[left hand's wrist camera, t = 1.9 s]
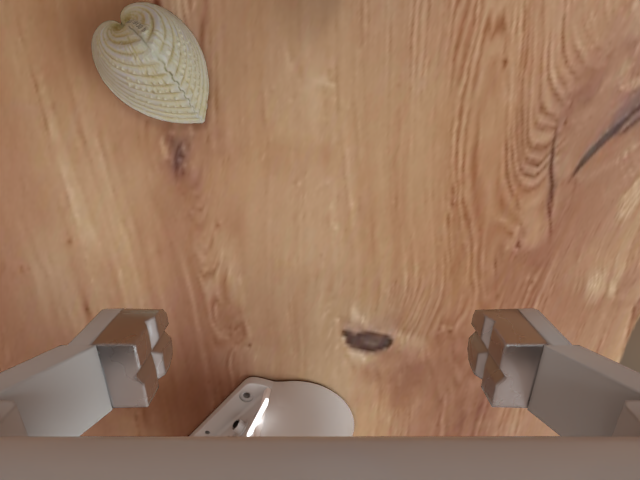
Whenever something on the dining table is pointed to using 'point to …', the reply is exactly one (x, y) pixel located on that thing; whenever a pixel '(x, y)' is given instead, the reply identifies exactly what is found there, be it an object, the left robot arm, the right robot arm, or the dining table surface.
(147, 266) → the dining table surface
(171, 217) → the dining table surface
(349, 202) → the dining table surface
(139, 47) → the seashell
